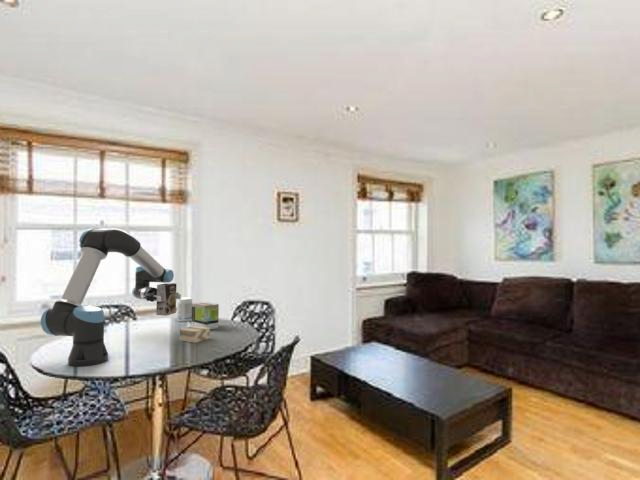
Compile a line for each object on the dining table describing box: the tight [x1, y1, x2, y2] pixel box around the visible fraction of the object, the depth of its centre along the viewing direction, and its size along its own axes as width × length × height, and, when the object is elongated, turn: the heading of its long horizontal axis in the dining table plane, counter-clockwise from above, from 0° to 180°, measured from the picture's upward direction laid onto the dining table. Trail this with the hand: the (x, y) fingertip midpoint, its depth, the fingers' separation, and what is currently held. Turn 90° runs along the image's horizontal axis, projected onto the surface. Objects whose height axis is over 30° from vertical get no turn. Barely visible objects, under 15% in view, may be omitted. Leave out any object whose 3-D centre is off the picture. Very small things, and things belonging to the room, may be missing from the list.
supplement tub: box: [176, 297, 193, 323], centre depth 266 cm, size 10×10×15 cm
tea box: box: [191, 301, 220, 330], centre depth 245 cm, size 15×10×15 cm, turn 49°
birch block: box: [179, 325, 211, 344], centre depth 216 cm, size 11×11×6 cm
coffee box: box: [155, 282, 177, 317], centre depth 215 cm, size 9×6×16 cm
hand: (170, 297), depth 212 cm, fingers closed on coffee box, 11 cm apart
